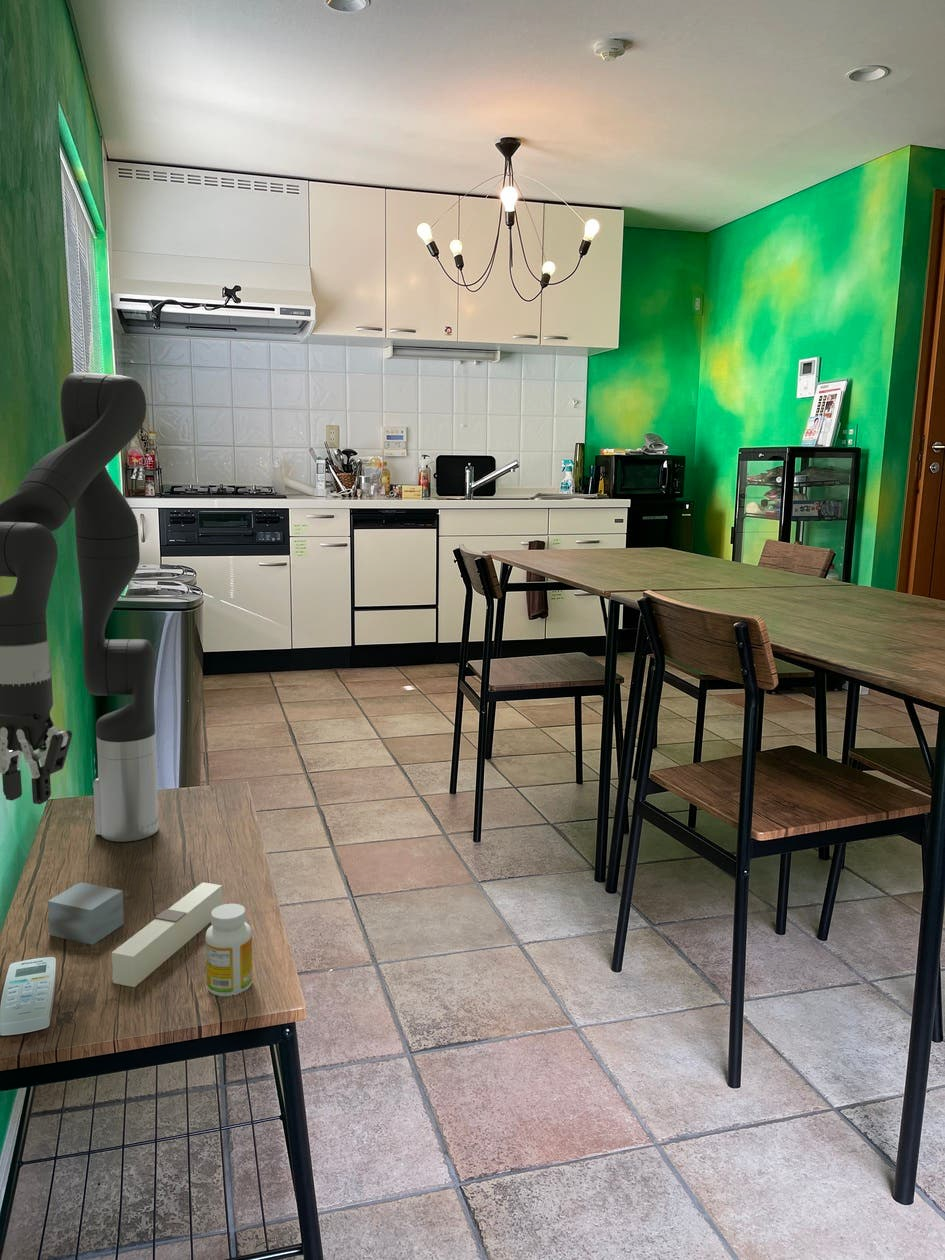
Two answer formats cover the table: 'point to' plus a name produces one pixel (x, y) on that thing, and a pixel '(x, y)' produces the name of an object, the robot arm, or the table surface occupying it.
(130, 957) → the cream rectangular bar
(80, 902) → the block
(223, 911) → the supplement bottle
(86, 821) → the table surface
